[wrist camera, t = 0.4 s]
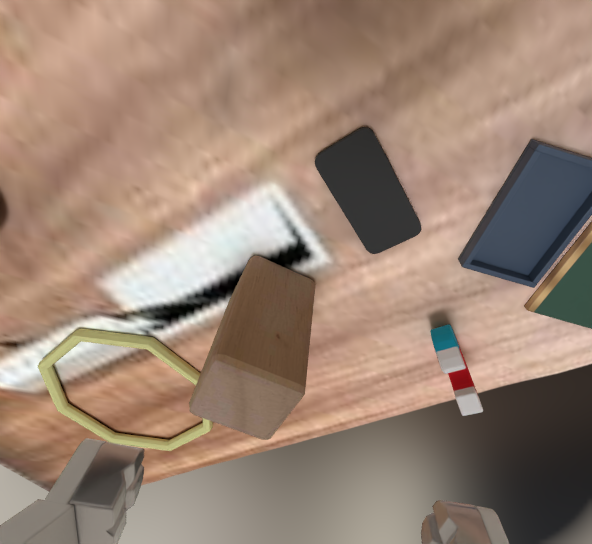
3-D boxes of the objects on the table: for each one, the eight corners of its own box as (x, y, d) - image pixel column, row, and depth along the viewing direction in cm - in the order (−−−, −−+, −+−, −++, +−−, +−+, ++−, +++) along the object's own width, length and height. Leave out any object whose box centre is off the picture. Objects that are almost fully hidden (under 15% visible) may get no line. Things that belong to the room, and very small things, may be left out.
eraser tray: (531, 138, 41) (539, 143, 39) (615, 165, 41) (626, 171, 40) (457, 258, 50) (461, 267, 48) (527, 279, 50) (534, 287, 49)
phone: (370, 257, 50) (310, 159, 43) (370, 253, 51) (310, 157, 44) (424, 232, 47) (369, 123, 41) (423, 228, 48) (369, 122, 41)
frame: (164, 307, 59) (159, 316, 58) (246, 434, 76) (244, 444, 74) (4, 343, 68) (-5, 351, 66) (109, 450, 85) (104, 459, 83)
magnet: (424, 313, 55) (439, 365, 47) (443, 307, 54) (462, 359, 46) (447, 365, 60) (464, 421, 52) (465, 361, 59) (485, 416, 51)
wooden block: (318, 279, 54) (308, 396, 37) (289, 325, 59) (268, 446, 42) (253, 250, 52) (212, 358, 35) (229, 300, 57) (183, 415, 41)
